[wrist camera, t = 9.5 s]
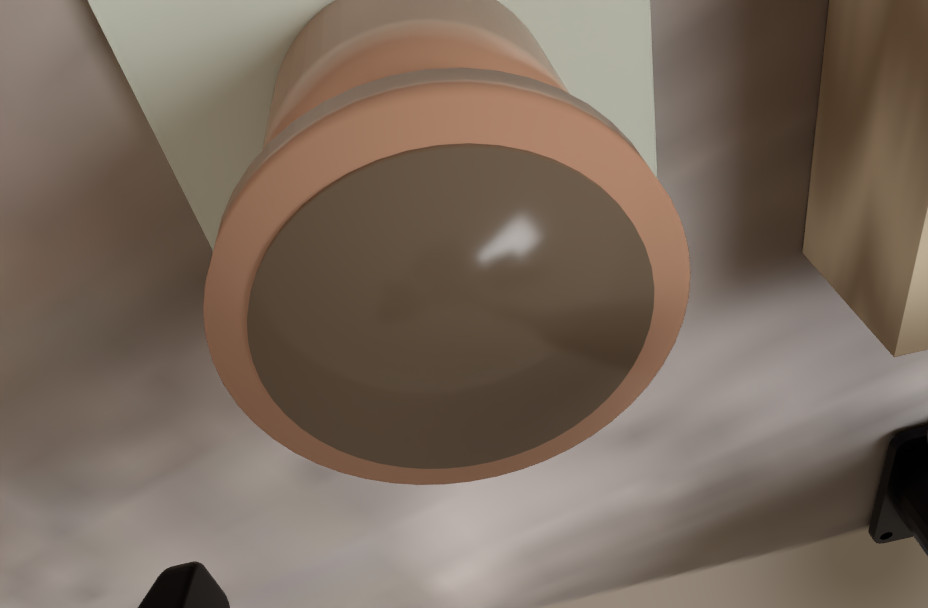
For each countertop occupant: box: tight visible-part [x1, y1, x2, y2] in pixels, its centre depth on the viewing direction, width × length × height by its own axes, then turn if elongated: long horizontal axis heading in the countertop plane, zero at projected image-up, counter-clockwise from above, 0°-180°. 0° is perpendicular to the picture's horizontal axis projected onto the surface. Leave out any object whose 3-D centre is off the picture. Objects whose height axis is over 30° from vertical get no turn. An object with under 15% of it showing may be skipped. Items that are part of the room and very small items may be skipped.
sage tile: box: [88, 0, 657, 250], centre depth 17 cm, size 11×11×1 cm
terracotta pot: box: [203, 0, 691, 485], centre depth 14 cm, size 7×7×7 cm
